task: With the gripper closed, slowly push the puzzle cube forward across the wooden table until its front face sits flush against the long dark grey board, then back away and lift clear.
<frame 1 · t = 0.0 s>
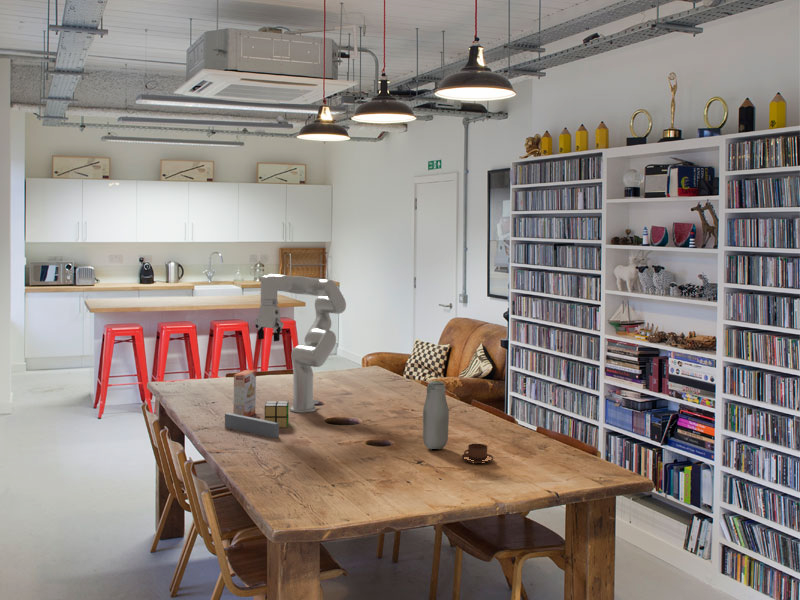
hand: (268, 340, 377), 37 cm above the table, tool pointing down, fingers open, 9 cm apart
cracker box: (244, 416, 385), on the table
stop board: (251, 431, 356), on the table
glass bottle: (434, 449, 334), on the table
puzzle cube: (276, 425, 369), on the table
cup and saucer: (477, 462, 319), on the table
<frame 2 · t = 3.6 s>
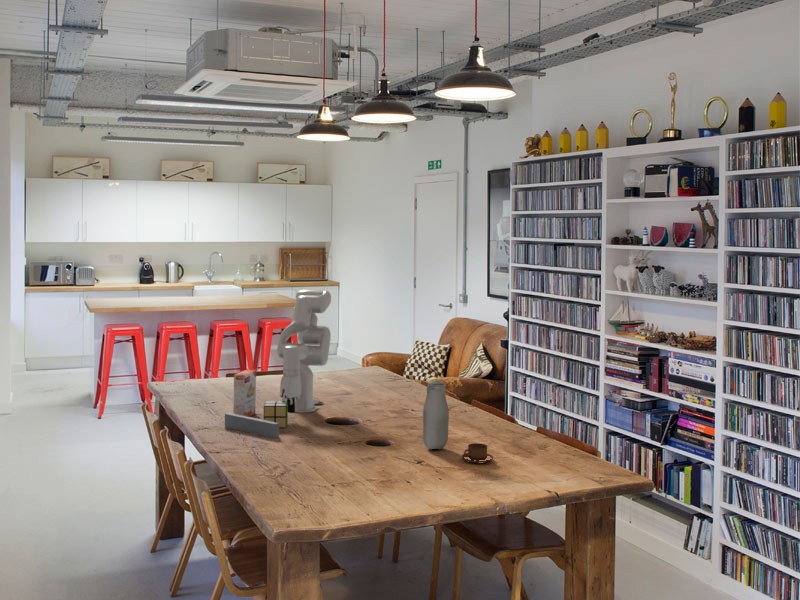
hand: (291, 412, 376), 4 cm above the table, tool pointing down, fingers closed
puzzle cube: (275, 425, 369), on the table, touching gripper
everything else where it was.
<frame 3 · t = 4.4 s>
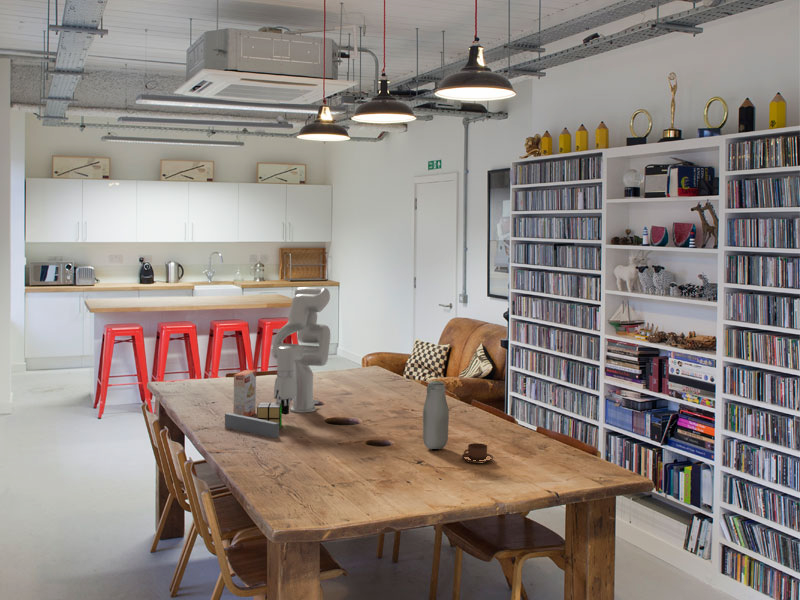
hand: (285, 413, 373), 4 cm above the table, tool pointing down, fingers closed
puzzle cube: (269, 427, 365), on the table, touching gripper
everything else where it was.
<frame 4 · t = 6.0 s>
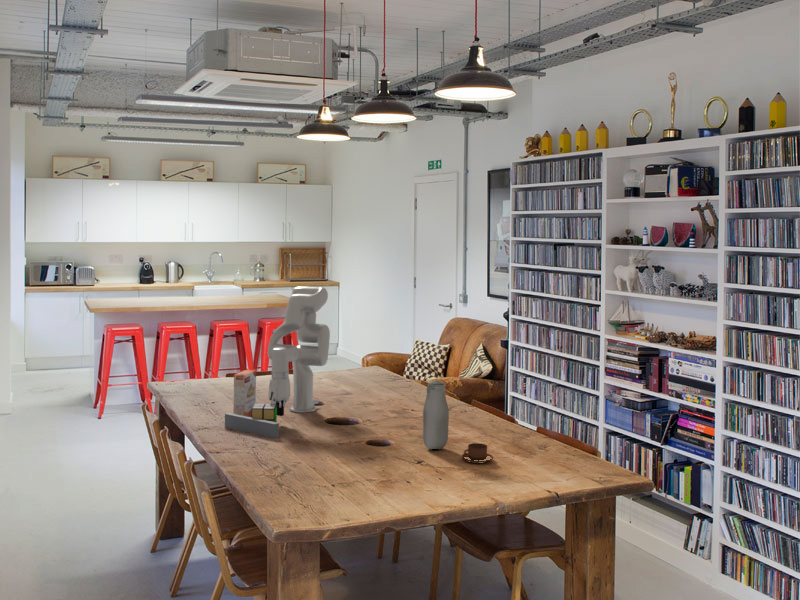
hand: (280, 415, 371), 4 cm above the table, tool pointing down, fingers closed
puzzle cube: (264, 428, 363), on the table, touching gripper, stop board
everything else where it was.
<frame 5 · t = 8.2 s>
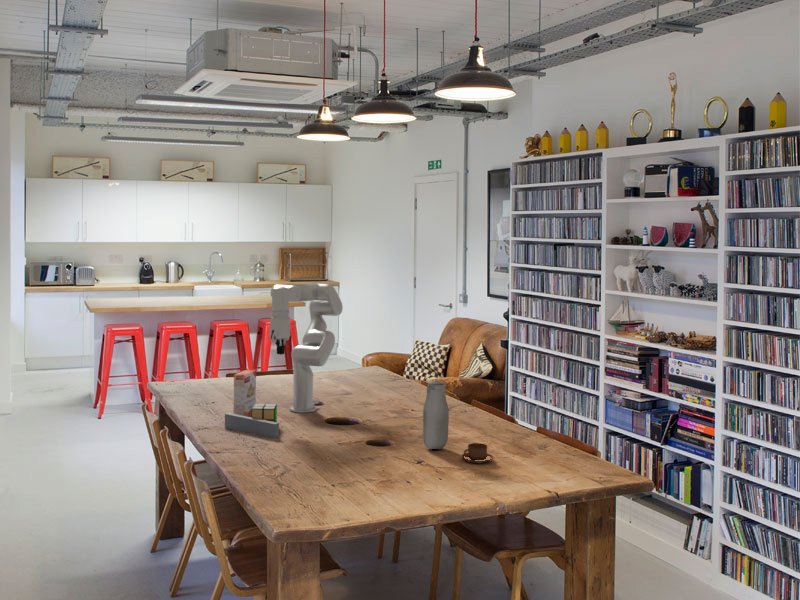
hand: (280, 353, 377), 31 cm above the table, tool pointing down, fingers closed
puzzle cube: (264, 429, 363), on the table
everything else where it was.
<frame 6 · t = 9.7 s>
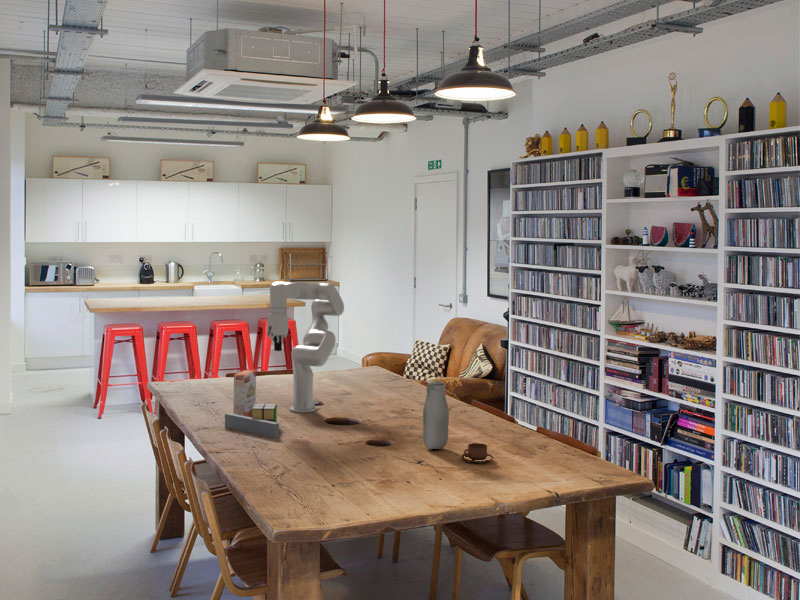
hand: (277, 350, 377), 32 cm above the table, tool pointing down, fingers closed
nothing on the table moved.
at the end: puzzle cube inside the target area on the table beside the stop board (0.4 cm from its centre), on the table; puzzle cube tilted 0° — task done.
